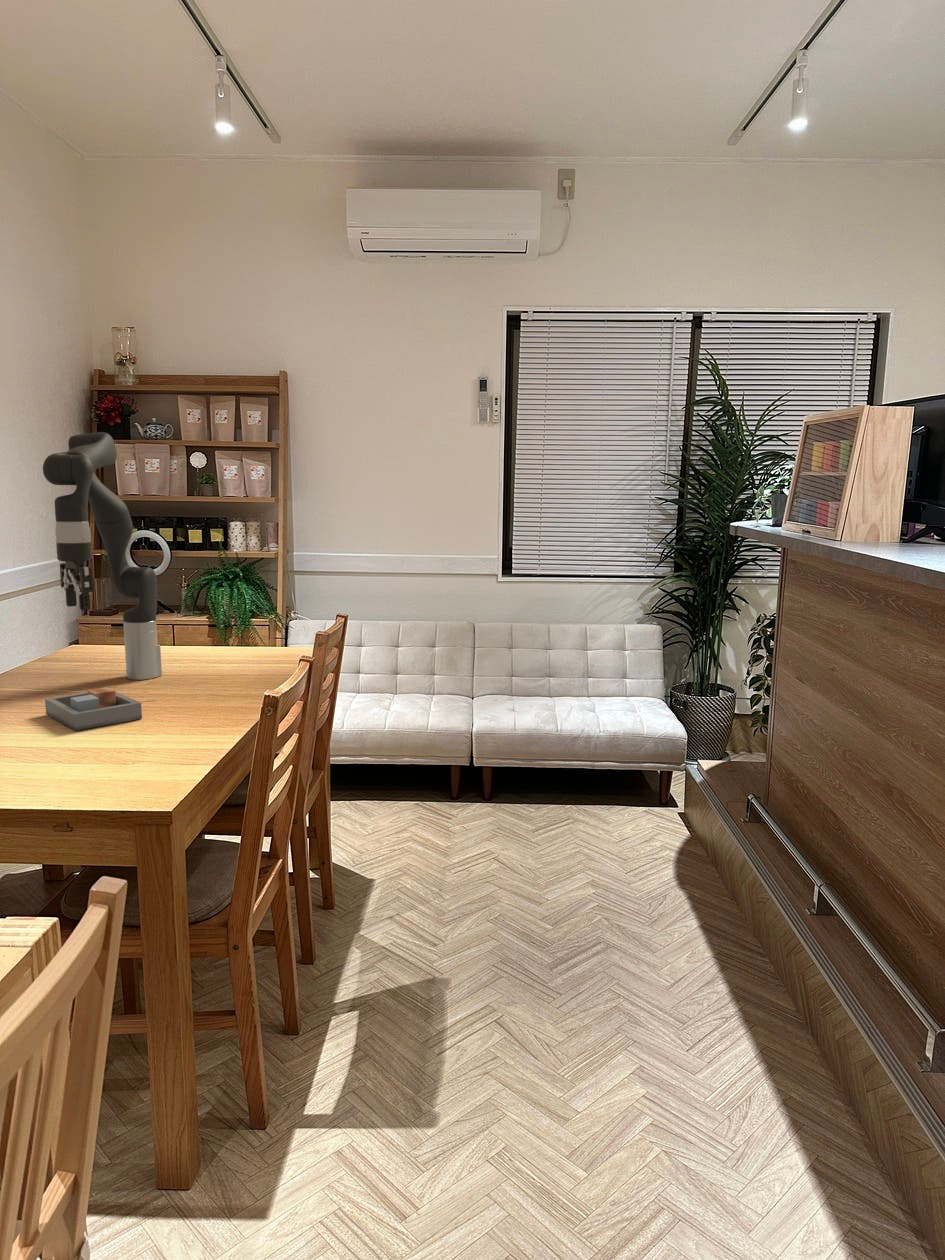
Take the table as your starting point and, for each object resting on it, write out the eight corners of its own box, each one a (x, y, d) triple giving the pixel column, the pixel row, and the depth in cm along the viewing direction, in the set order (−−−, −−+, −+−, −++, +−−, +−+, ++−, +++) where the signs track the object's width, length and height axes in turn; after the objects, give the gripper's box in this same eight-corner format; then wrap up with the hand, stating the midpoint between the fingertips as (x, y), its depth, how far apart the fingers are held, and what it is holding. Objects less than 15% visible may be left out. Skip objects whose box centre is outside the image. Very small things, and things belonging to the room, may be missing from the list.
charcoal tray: (109, 703, 227) (108, 688, 227) (142, 718, 213) (141, 702, 213) (46, 714, 216) (44, 698, 216) (75, 730, 202) (74, 714, 202)
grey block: (92, 713, 214) (91, 694, 213) (100, 718, 210) (98, 698, 210) (71, 717, 211) (70, 697, 210) (79, 721, 207) (77, 701, 206)
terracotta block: (108, 705, 222) (107, 687, 221) (116, 709, 218) (115, 690, 217) (88, 709, 218) (87, 690, 217) (96, 713, 215) (95, 693, 214)
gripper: (101, 541, 201) (105, 610, 203) (78, 538, 211) (83, 603, 213) (68, 543, 195) (73, 613, 198) (46, 539, 205) (51, 606, 208)
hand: (78, 608), depth 206 cm, fingers open, 8 cm apart
